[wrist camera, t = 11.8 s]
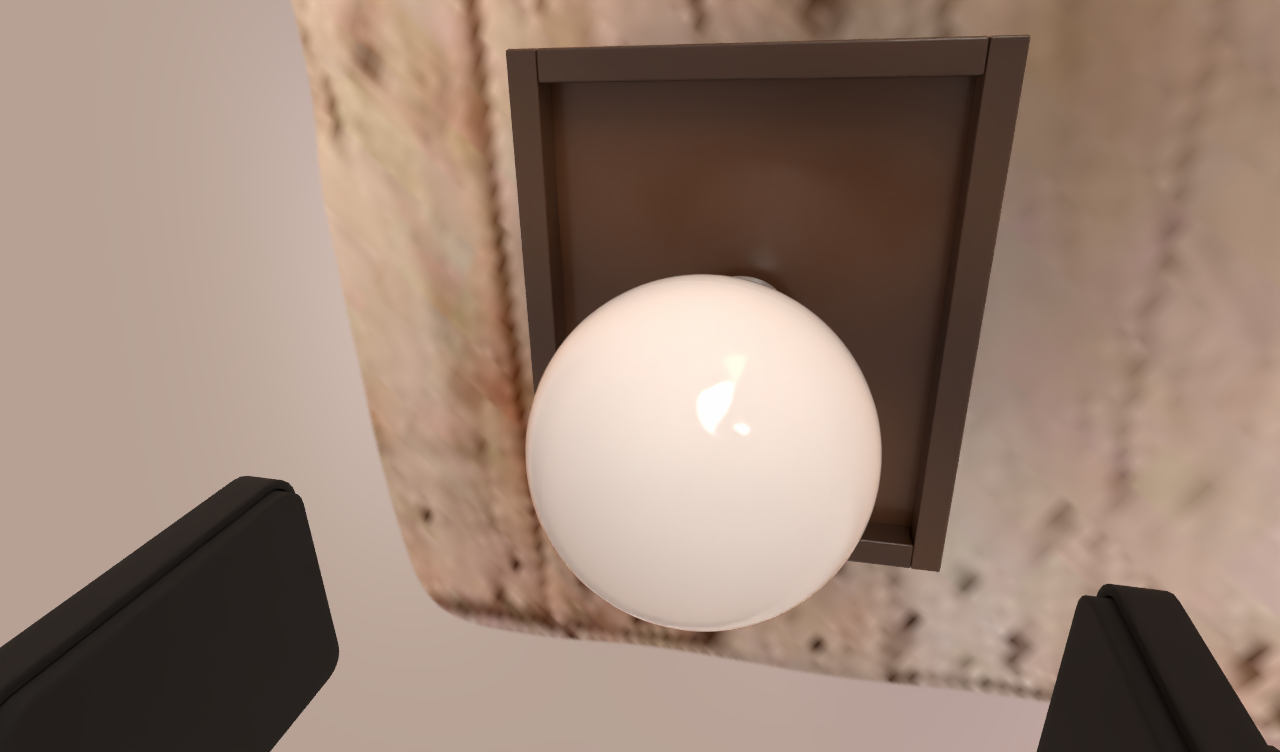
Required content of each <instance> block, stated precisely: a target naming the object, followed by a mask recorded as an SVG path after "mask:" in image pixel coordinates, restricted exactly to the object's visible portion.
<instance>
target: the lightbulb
mask: <svg viewBox="0 0 1280 752" xmlns="http://www.w3.org/2000/svg"><path fill="white" fill-rule="evenodd" d="M525 456H526V471H527V478H528V485H529V490H530V494H531V498H532V502H533V505H534V508H535V511H536V514H537V517H538V519H539V521H540V524H541V526H542V528H543V530H544V532H545V534H546V536H547V538H548V540H549V541H550V543H551V545H552V546H553V548H554V550H555V551H556V553H557V554H558V555H559V557H560V558H561V560H562V561H563V562H564V563H565V565H566V566H567V567H568V568H569V570H570V571H571V572H572V573H573V574H574V575H575V576H576V577H577V578H578V579H579V580H580V581H581V582H582V583H583V584H584V585H585V586H586V587H588V588H589V589H590V590H591V591H592V592H594V593H595V594H596V595H597V596H599V597H600V598H602V599H603V600H604V601H606V602H607V603H609V604H611V605H612V606H614V607H616V608H617V609H619V610H621V611H623V612H625V613H627V614H629V615H631V616H633V617H636V618H638V619H641V620H643V621H646V622H649V623H652V624H656V625H659V626H663V627H667V628H672V629H678V630H685V631H699V632H712V631H725V630H733V629H738V628H743V627H748V626H751V625H755V624H758V623H761V622H764V621H767V620H770V619H772V618H775V617H777V616H779V615H781V614H783V613H785V612H787V611H789V610H791V609H793V608H795V607H796V606H798V605H800V604H801V603H803V602H804V601H806V600H807V599H809V598H810V597H811V596H813V595H814V594H815V593H816V592H818V591H819V590H820V589H821V588H822V587H823V586H824V585H826V584H827V583H828V582H829V581H830V580H831V579H832V578H833V577H834V576H835V574H836V573H837V572H838V571H839V570H840V569H841V567H842V566H843V565H844V564H845V562H846V561H847V560H848V558H849V557H850V555H851V554H852V552H853V551H854V549H855V548H856V546H857V544H858V543H859V541H860V539H861V537H862V535H863V533H864V531H865V529H866V527H867V525H868V522H869V520H870V517H871V514H872V512H873V509H874V505H875V502H876V498H877V494H878V490H879V484H880V477H881V467H882V440H881V430H880V424H879V419H878V414H877V410H876V406H875V403H874V399H873V396H872V394H871V391H870V388H869V386H868V383H867V381H866V379H865V377H864V375H863V373H862V371H861V369H860V367H859V365H858V363H857V362H856V360H855V359H854V357H853V355H852V354H851V353H850V351H849V350H848V348H847V347H846V346H845V344H844V343H843V342H842V340H841V339H840V338H839V337H838V336H837V335H836V333H835V332H834V331H833V330H832V329H831V328H830V327H829V326H828V325H827V324H826V323H825V322H824V321H823V320H821V319H820V318H819V317H818V316H817V315H816V314H814V313H813V312H812V311H810V310H809V309H808V308H806V307H805V306H804V305H802V304H801V303H799V302H797V301H796V300H794V299H792V298H791V297H789V296H787V295H785V294H783V293H781V292H779V291H777V290H776V289H775V288H774V287H773V286H771V285H770V284H768V283H766V282H764V281H762V280H760V279H757V278H753V277H748V276H733V277H731V276H724V275H714V274H691V275H680V276H673V277H668V278H663V279H659V280H655V281H652V282H648V283H645V284H643V285H640V286H637V287H635V288H632V289H630V290H628V291H626V292H624V293H622V294H620V295H618V296H616V297H614V298H613V299H611V300H609V301H608V302H606V303H605V304H603V305H602V306H600V307H599V308H597V309H596V310H595V311H593V312H592V313H591V314H590V315H588V316H587V317H586V318H585V319H584V320H583V321H582V322H581V323H580V324H579V325H578V326H577V327H576V328H575V329H574V330H573V331H572V332H571V333H570V334H569V335H568V336H567V337H566V339H565V340H564V341H563V342H562V344H561V345H560V347H559V348H558V349H557V351H556V352H555V354H554V355H553V357H552V359H551V360H550V362H549V364H548V366H547V368H546V369H545V371H544V373H543V375H542V378H541V380H540V382H539V385H538V387H537V390H536V393H535V396H534V399H533V402H532V406H531V410H530V414H529V419H528V425H527V433H526V449H525Z"/></svg>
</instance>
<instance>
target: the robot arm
mask: <svg viewBox="0 0 1280 752" xmlns="http://www.w3.org/2000/svg"><path fill="white" fill-rule="evenodd" d="M338 657H339V646H338V641H337V637H336V633H335V629H334V625H333V621H332V617H331V613H330V609H329V605H328V601H327V597H326V593H325V589H324V585H323V581H322V576H321V572H320V569H319V564H318V560H317V556H316V552H315V548H314V544H313V540H312V536H311V532H310V528H309V524H308V520H307V516H306V512H305V507H304V504H303V501H302V499H301V497H300V496H299V495H298V494H295V491H294V489H293V487H292V486H291V485H290V484H289V483H288V482H285V481H283V480H276V479H268V478H260V477H252V476H243V477H239V478H237V479H235V480H233V481H232V482H230V483H229V484H228V485H226V486H225V487H223V488H222V489H221V490H219V491H218V492H216V493H215V494H214V495H212V496H211V497H209V498H208V499H207V500H205V501H204V502H202V503H201V504H200V505H198V506H197V507H196V508H194V509H193V510H191V511H190V512H189V513H187V514H186V515H184V516H183V517H182V518H180V519H179V520H177V521H176V522H175V523H173V524H172V525H170V526H169V527H168V528H167V529H165V530H164V531H162V532H161V533H159V534H158V535H157V536H155V537H154V538H152V539H151V540H150V541H148V542H147V543H145V544H144V545H143V546H141V547H140V548H139V549H137V550H136V551H134V552H133V553H132V554H130V555H129V556H127V557H126V558H125V559H123V560H122V561H120V562H119V563H118V564H116V565H115V566H113V567H112V568H111V569H109V570H108V571H106V572H105V573H104V574H102V575H101V576H100V577H98V578H97V579H95V580H94V581H92V582H91V583H90V584H88V585H87V586H85V587H84V588H83V589H81V590H80V591H78V592H77V593H76V594H74V595H73V596H72V597H70V598H69V599H68V600H66V601H65V602H63V603H62V604H60V605H59V606H58V607H56V608H55V609H53V610H52V611H51V612H49V613H48V614H47V615H45V616H44V617H42V618H41V619H40V620H38V621H37V622H35V623H34V624H32V625H31V626H30V627H28V628H27V629H26V630H24V631H23V632H21V633H20V634H19V635H17V636H16V637H14V638H13V639H12V640H10V641H9V642H8V643H6V644H5V645H3V646H2V647H1V648H0V752H270V751H271V750H272V749H273V747H274V746H275V745H276V743H277V742H278V741H279V740H280V739H281V737H282V736H283V735H284V734H285V732H286V731H287V730H288V729H289V727H290V726H291V725H292V724H293V722H294V721H295V720H296V719H297V718H298V716H299V715H300V714H301V713H302V711H303V710H304V709H305V708H306V706H307V705H308V704H309V703H310V701H311V700H312V699H313V698H314V696H315V695H316V694H317V693H318V691H319V690H320V689H321V688H322V686H323V685H324V684H325V683H326V682H327V680H328V679H329V678H330V676H331V675H332V673H333V672H334V669H335V667H336V665H337V661H338ZM1037 752H1280V751H1279V750H1278V749H1276V748H1275V747H1274V746H1269V745H1267V743H1266V742H1265V740H1264V738H1263V737H1262V735H1261V733H1260V732H1259V730H1258V729H1257V727H1256V725H1255V724H1254V722H1253V720H1252V719H1251V717H1250V716H1249V714H1248V712H1247V711H1246V709H1245V707H1244V706H1243V704H1242V703H1241V701H1240V699H1239V698H1238V696H1237V694H1236V693H1235V691H1234V689H1233V688H1232V686H1231V685H1230V683H1229V681H1228V680H1227V678H1226V676H1225V675H1224V673H1223V672H1222V670H1221V668H1220V667H1219V665H1218V663H1217V662H1216V660H1215V659H1214V657H1213V655H1212V654H1211V652H1210V650H1209V649H1208V647H1207V646H1206V644H1205V642H1204V641H1203V639H1202V637H1201V636H1200V634H1199V632H1198V631H1197V629H1196V628H1195V626H1194V624H1193V623H1192V621H1191V619H1190V618H1189V616H1188V615H1187V613H1186V611H1185V610H1184V608H1183V606H1182V605H1181V603H1180V602H1179V600H1178V599H1177V598H1176V597H1175V595H1174V594H1172V593H1170V592H1168V591H1162V590H1154V589H1146V588H1138V587H1130V586H1122V585H1114V584H1106V585H1103V586H1102V587H1101V589H1100V590H1099V592H1098V594H1097V597H1095V596H1087V595H1085V596H1082V597H1081V598H1080V599H1079V601H1078V604H1077V607H1076V610H1075V614H1074V618H1073V621H1072V625H1071V629H1070V632H1069V636H1068V639H1067V643H1066V647H1065V650H1064V654H1063V658H1062V661H1061V665H1060V669H1059V672H1058V676H1057V680H1056V683H1055V687H1054V691H1053V694H1052V698H1051V702H1050V705H1049V709H1048V713H1047V716H1046V720H1045V724H1044V727H1043V731H1042V734H1041V738H1040V742H1039V746H1038V749H1037Z"/></svg>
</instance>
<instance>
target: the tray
mask: <svg viewBox="0 0 1280 752" xmlns="http://www.w3.org/2000/svg"><path fill="white" fill-rule="evenodd" d="M1029 42H1030V35H1004V36H968V37H932V38H895V39H859V40H823V41H786V42H750V43H714V44H677V45H641V46H604V47H568V48H539V49H535V48H531V49H508V50H506V58H507V70H508V82H509V94H510V106H511V118H512V130H513V142H514V154H515V166H516V178H517V190H518V203H519V215H520V227H521V239H522V251H523V263H524V275H525V287H526V299H527V311H528V323H529V335H530V347H531V359H532V371H533V383H534V395H535V393H536V390H537V387H538V385H539V382H540V380H541V378H542V375H543V373H544V371H545V369H546V368H547V366H548V364H549V362H550V360H551V359H552V357H553V355H554V354H555V352H556V351H557V349H558V348H559V347H560V345H561V344H562V342H563V341H564V340H565V339H566V337H567V336H568V335H569V334H570V333H571V332H572V331H573V330H574V329H575V328H576V327H577V326H578V325H579V324H580V323H581V322H582V321H583V320H584V319H585V318H586V317H587V316H588V315H590V314H591V313H592V312H593V311H595V310H596V309H597V308H599V307H600V306H602V305H603V304H605V303H606V302H608V301H609V300H611V299H613V298H614V297H616V296H618V295H620V294H622V293H624V292H626V291H628V290H630V289H632V288H635V287H637V286H640V285H643V284H645V283H648V282H652V281H655V280H659V279H663V278H668V277H673V276H680V275H691V274H714V275H724V276H731V277H733V276H748V277H753V278H757V279H760V280H762V281H764V282H766V283H768V284H770V285H771V286H773V287H774V288H775V289H776V290H777V291H779V292H781V293H783V294H785V295H787V296H789V297H791V298H792V299H794V300H796V301H797V302H799V303H801V304H802V305H804V306H805V307H806V308H808V309H809V310H810V311H812V312H813V313H814V314H816V315H817V316H818V317H819V318H820V319H821V320H823V321H824V322H825V323H826V324H827V325H828V326H829V327H830V328H831V329H832V330H833V331H834V332H835V333H836V335H837V336H838V337H839V338H840V339H841V340H842V342H843V343H844V344H845V346H846V347H847V348H848V350H849V351H850V353H851V354H852V355H853V357H854V359H855V360H856V362H857V363H858V365H859V367H860V369H861V371H862V373H863V375H864V377H865V379H866V381H867V383H868V386H869V388H870V391H871V394H872V396H873V399H874V403H875V406H876V410H877V414H878V419H879V424H880V430H881V440H882V467H881V477H880V484H879V490H878V494H877V498H876V502H875V505H874V509H873V512H872V514H871V517H870V520H869V522H868V525H867V527H866V529H865V531H864V533H863V535H862V537H861V539H860V541H859V543H858V544H857V546H856V548H855V549H854V551H853V552H852V554H851V555H850V557H849V558H848V560H847V561H855V562H864V563H872V564H880V565H888V566H896V567H904V568H910V566H911V568H912V569H919V570H927V571H936V572H939V571H940V567H941V561H942V555H943V549H944V544H945V538H946V532H947V526H948V520H949V514H950V508H951V502H952V496H953V490H954V485H955V479H956V473H957V467H958V461H959V455H960V449H961V443H962V437H963V432H964V426H965V420H966V414H967V408H968V402H969V396H970V390H971V384H972V378H973V373H974V367H975V361H976V355H977V349H978V343H979V337H980V331H981V325H982V320H983V314H984V308H985V302H986V296H987V290H988V284H989V278H990V272H991V266H992V261H993V255H994V249H995V243H996V237H997V231H998V225H999V219H1000V213H1001V208H1002V202H1003V196H1004V190H1005V184H1006V178H1007V172H1008V166H1009V160H1010V154H1011V149H1012V143H1013V137H1014V131H1015V125H1016V119H1017V113H1018V107H1019V101H1020V96H1021V90H1022V84H1023V78H1024V72H1025V66H1026V60H1027V54H1028V48H1029Z"/></svg>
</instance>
